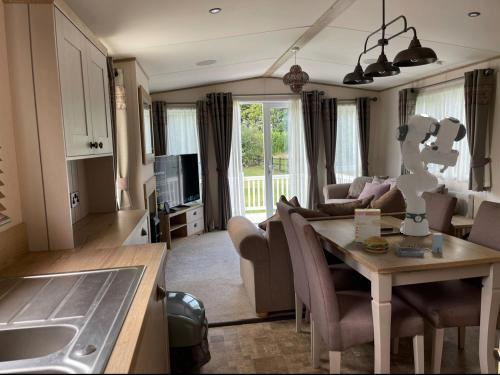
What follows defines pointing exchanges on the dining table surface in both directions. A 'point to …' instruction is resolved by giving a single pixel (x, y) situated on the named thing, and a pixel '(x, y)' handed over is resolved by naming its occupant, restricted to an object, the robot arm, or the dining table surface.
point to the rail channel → (408, 251)
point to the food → (376, 244)
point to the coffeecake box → (366, 223)
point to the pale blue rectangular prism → (437, 242)
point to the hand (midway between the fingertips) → (433, 171)
